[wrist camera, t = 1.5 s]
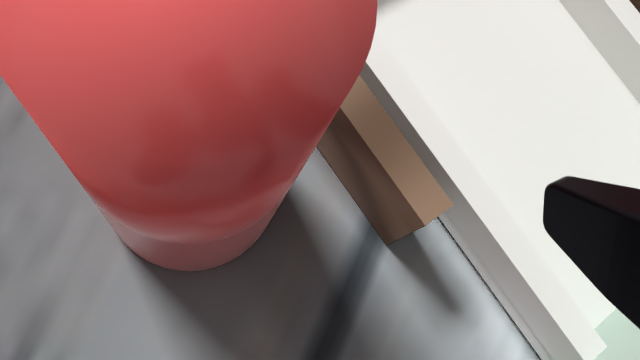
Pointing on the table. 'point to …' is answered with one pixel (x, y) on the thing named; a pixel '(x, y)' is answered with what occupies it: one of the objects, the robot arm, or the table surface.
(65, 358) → the table surface
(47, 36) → the pink cylinder
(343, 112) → the drawer
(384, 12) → the tray
